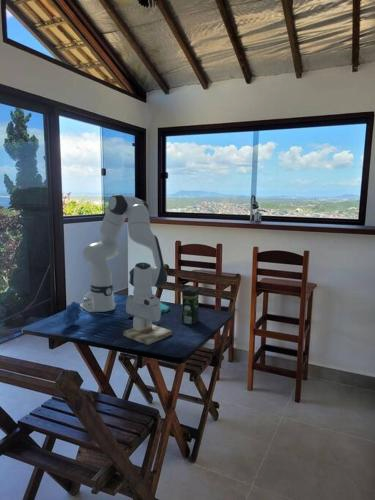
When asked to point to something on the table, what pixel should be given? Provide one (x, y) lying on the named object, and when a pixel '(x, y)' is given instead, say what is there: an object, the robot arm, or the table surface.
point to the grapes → (71, 314)
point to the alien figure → (163, 307)
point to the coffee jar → (190, 305)
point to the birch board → (148, 334)
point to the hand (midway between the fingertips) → (142, 326)
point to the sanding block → (140, 324)
